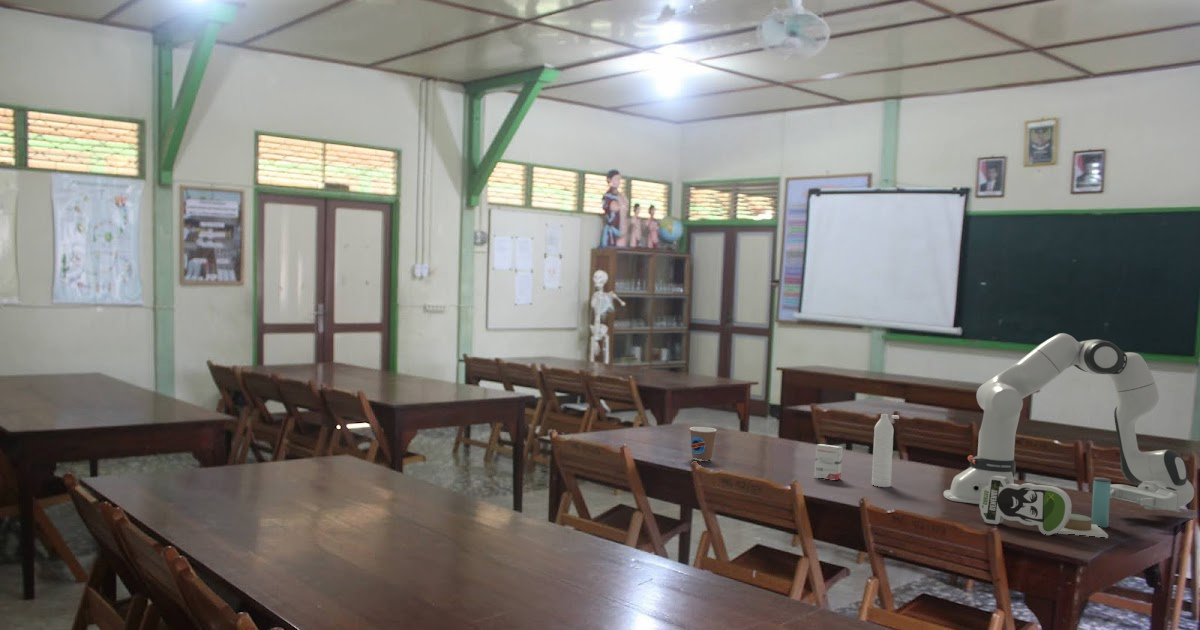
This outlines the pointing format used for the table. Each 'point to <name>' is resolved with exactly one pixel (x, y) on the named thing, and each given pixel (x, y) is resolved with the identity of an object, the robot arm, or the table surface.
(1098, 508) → the tube
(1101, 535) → the display stand
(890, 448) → the water bottle
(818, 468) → the ink box
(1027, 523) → the cutout
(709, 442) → the coffee cup
